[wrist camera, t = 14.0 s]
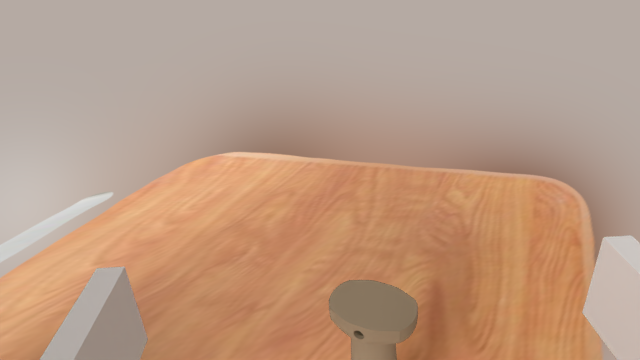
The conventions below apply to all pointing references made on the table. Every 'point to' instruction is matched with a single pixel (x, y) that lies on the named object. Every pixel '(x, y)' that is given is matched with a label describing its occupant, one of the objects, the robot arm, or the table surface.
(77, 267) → the table surface
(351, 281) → the handle
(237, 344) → the table surface
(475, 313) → the table surface
